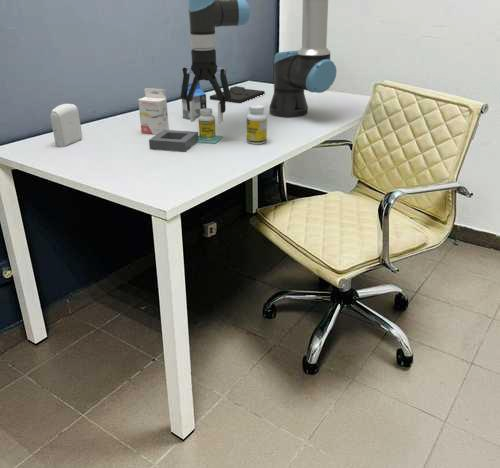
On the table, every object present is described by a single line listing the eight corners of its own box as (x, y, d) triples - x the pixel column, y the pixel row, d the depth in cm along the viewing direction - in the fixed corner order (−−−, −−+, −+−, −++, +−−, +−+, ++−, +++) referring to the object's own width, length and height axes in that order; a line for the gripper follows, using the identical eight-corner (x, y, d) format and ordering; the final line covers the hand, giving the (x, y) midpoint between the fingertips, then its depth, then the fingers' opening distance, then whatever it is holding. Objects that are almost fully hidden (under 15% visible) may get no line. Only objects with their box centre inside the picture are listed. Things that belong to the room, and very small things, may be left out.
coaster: (222, 136, 171) (222, 135, 171) (215, 143, 164) (215, 142, 164) (200, 135, 173) (200, 134, 173) (192, 142, 166) (192, 141, 166)
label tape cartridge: (188, 119, 192) (186, 86, 186) (182, 117, 195) (180, 85, 189) (207, 115, 197) (205, 83, 192) (201, 114, 200) (199, 81, 194)
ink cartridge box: (140, 133, 176) (136, 90, 169) (148, 129, 180) (143, 87, 173) (163, 135, 173) (159, 91, 167) (169, 131, 177) (166, 88, 171)
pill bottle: (243, 140, 167) (243, 105, 162) (261, 138, 170) (262, 103, 164) (251, 145, 162) (251, 109, 157) (269, 143, 164) (270, 107, 159)
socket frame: (198, 140, 167) (198, 131, 166) (185, 151, 157) (185, 142, 156) (164, 138, 170) (163, 129, 169) (149, 149, 160) (148, 139, 158)
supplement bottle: (214, 135, 171) (213, 106, 167) (217, 140, 167) (215, 110, 162) (198, 136, 170) (196, 108, 166) (200, 141, 166) (199, 111, 161)
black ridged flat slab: (235, 92, 239) (209, 100, 223) (235, 86, 238) (209, 94, 222) (264, 95, 231) (239, 104, 216) (264, 89, 230) (239, 98, 214)
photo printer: (64, 147, 162) (57, 108, 156) (53, 146, 164) (46, 107, 158) (84, 138, 171) (79, 101, 165) (74, 137, 172) (68, 100, 166)
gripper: (240, 47, 156) (241, 120, 167) (175, 46, 161) (180, 117, 171) (233, 51, 150) (235, 126, 160) (165, 49, 155) (171, 122, 165)
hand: (206, 121), depth 166 cm, fingers open, 9 cm apart
